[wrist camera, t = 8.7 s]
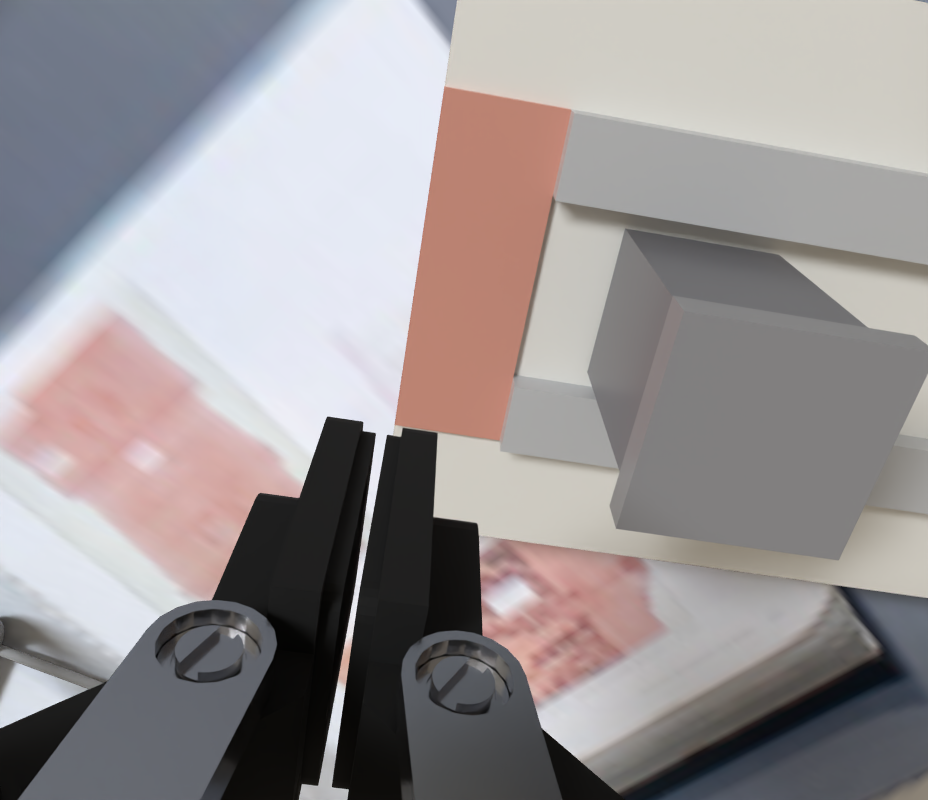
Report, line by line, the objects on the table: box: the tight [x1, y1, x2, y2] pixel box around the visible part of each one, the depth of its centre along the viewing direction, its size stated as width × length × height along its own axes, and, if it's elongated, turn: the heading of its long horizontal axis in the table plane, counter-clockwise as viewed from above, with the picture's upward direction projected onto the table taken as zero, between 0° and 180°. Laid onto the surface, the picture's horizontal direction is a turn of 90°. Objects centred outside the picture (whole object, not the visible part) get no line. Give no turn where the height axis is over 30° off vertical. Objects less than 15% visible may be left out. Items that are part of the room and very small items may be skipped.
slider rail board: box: [393, 0, 928, 598], centre depth 22 cm, size 16×28×4 cm, turn 80°
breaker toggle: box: [587, 228, 928, 560], centre depth 18 cm, size 5×5×7 cm
